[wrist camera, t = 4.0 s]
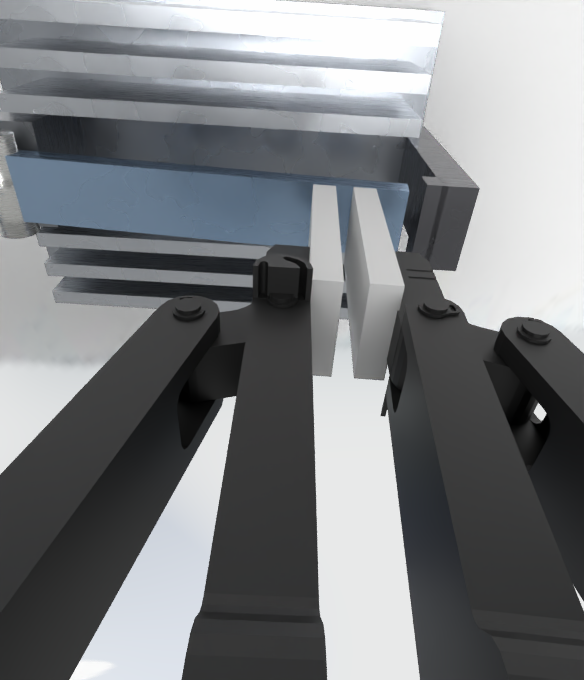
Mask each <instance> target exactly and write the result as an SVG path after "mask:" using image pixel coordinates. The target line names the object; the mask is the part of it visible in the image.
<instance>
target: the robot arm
mask: <svg viewBox="0 0 584 680" xmlns="http://www.w3.org/2000/svg"><path fill="white" fill-rule="evenodd" d="M344 269H345V281H346V292H347V304H348V315H349V326H350V338H351V349H352V361H353V372H354V378H358V379H372V380H384V378H385V373H386V369H387V364H388V368H389V374H390V376H389V381H388V385H387V390H386V394H385V398H384V403H383V407H382V412H381V416H385V415H386V411H387V410H388V415H389V423H390V431H391V440H392V447H393V457H394V465H395V473H396V482H397V490H398V498H399V507H400V515H401V523H402V531H403V540H404V548H405V557H406V564H407V573H408V582H409V590H410V599H411V607H412V614H413V624H414V632H415V640H416V649H417V657H418V665H419V673H420V680H584V611H583V608H582V606H581V603H580V601H579V598H578V596H577V594H576V591H575V588H576V590H577V591H578V593H579V594H580V596H581V598H582V599H583V601H584V354H583V353H582V352H581V351H580V350H579V349H578V348H577V347H576V346H575V345H574V344H573V343H571V341H570V340H569V339H568V338H566V337H565V336H564V335H563V334H562V333H561V332H560V331H558V330H557V329H556V328H554V327H553V326H551V325H549V324H547V323H544V322H543V321H541V320H538V319H534V318H529V317H527V318H525V317H514V318H509V319H507V320H506V321H504V322H503V323H502V325H501V328H500V331H499V332H497V331H493V330H489V329H485V328H481V327H478V326H475V325H471V324H469V323H468V322H467V319H466V317H465V314H464V312H463V311H462V309H461V308H460V307H459V306H458V305H456V304H455V303H453V302H452V301H449V300H447V299H444V296H443V294H442V291H441V289H440V287H439V284H438V282H437V280H436V277H435V275H434V273H433V270H432V267H431V265H430V262H429V261H428V260H427V259H425V258H424V257H423V256H422V255H421V254H419V253H412V252H398V251H394V247H393V244H392V241H391V237H390V234H389V230H388V227H387V223H386V220H385V217H384V213H383V210H382V206H381V203H380V200H379V196H378V193H377V189H375V188H361V187H353V195H352V202H351V210H350V218H349V225H348V233H347V241H346V249H345V256H344ZM343 286H344V276H343V264H342V252H341V240H340V228H339V216H338V204H337V192H336V186H331V185H317V184H313V193H312V206H311V218H310V231H309V244H308V247H307V246H293V245H278V244H275V245H274V246H273V247H272V248H271V249H269V250H268V251H267V253H266V256H263V257H261V258H260V259H258V260H256V261H255V263H254V264H253V299H252V303H251V304H250V305H248V306H246V307H243V308H241V309H237V310H232V311H225V312H220V311H219V308H218V305H217V304H216V303H215V302H214V301H212V300H211V299H208V298H205V297H202V296H193V295H186V296H179V297H176V298H173V299H170V300H168V301H166V302H165V303H164V304H162V305H161V306H160V307H159V308H158V309H157V310H156V311H155V312H154V313H153V314H152V315H151V316H150V317H149V318H148V319H147V321H146V322H145V323H144V324H143V325H142V326H141V327H140V328H139V329H138V330H137V331H136V332H135V333H134V334H133V335H132V336H131V337H130V338H129V340H128V341H127V342H126V343H125V344H124V345H123V346H122V347H121V348H120V349H119V350H118V351H117V352H116V353H115V354H114V355H113V356H112V357H111V359H110V360H109V361H108V362H107V363H106V364H105V365H104V366H103V367H102V368H101V369H100V370H99V371H98V372H97V373H96V374H95V375H94V376H93V378H92V379H91V380H90V381H89V382H88V383H87V384H86V385H85V386H84V387H83V388H82V389H81V390H80V391H79V392H78V393H77V394H76V395H75V396H74V398H73V399H72V400H71V401H70V402H69V403H68V404H67V405H66V406H65V407H64V408H63V409H62V410H61V411H60V413H58V415H57V416H56V417H55V418H54V419H53V420H52V421H51V422H50V423H49V424H48V425H47V426H46V427H45V428H44V429H43V430H42V431H41V432H40V433H39V434H38V436H37V437H36V438H35V439H34V440H33V441H32V442H31V443H30V444H29V445H28V446H27V447H26V448H25V449H24V450H23V451H22V452H21V454H19V456H18V457H17V458H16V459H15V460H14V461H13V462H12V463H11V464H10V465H9V466H8V467H7V468H6V469H5V470H4V471H3V472H2V473H1V475H0V680H69V679H70V677H71V676H72V674H73V672H74V670H75V668H76V667H77V665H78V663H79V661H80V659H81V658H82V656H83V654H84V652H85V650H86V649H87V647H88V645H89V643H90V641H91V640H92V638H93V636H94V634H95V632H96V631H97V629H98V627H99V625H100V623H101V621H102V620H103V618H104V616H105V614H106V613H107V611H108V609H109V607H110V606H111V604H112V602H113V600H114V598H115V596H116V595H117V593H118V591H119V589H120V588H121V586H122V584H123V582H124V580H125V578H126V577H127V575H128V573H129V571H130V570H131V568H132V566H133V564H134V562H135V561H136V558H137V557H138V555H139V553H140V552H141V550H142V548H143V546H144V544H145V543H146V541H147V539H148V537H149V535H150V534H151V532H152V530H153V528H154V526H155V525H156V523H157V521H158V519H159V517H160V516H161V514H162V512H163V510H164V509H165V507H166V505H167V503H168V501H169V499H170V498H171V496H172V494H173V492H174V491H175V489H176V487H177V485H178V483H179V482H180V480H181V478H182V476H183V474H184V472H185V471H186V469H187V467H188V465H189V463H190V462H191V460H192V458H193V456H194V455H195V453H196V451H197V449H198V447H199V446H200V444H201V442H202V440H203V438H204V437H205V435H206V433H207V431H208V429H209V428H210V426H211V424H212V422H213V420H214V419H215V417H216V415H217V413H218V411H219V409H220V408H221V406H222V402H223V398H226V397H232V396H236V403H235V409H234V415H233V421H232V427H231V434H230V439H229V445H228V451H227V457H226V464H225V470H224V476H223V482H222V488H221V494H220V500H219V506H218V512H217V518H216V525H215V531H214V536H213V543H212V549H211V555H210V561H209V567H208V573H207V579H206V585H205V591H204V597H203V602H202V606H201V610H200V612H199V613H198V615H197V616H196V617H195V620H194V623H193V626H192V629H191V633H190V638H189V643H188V648H187V652H186V658H185V663H184V669H183V675H182V680H327V667H326V646H325V635H324V626H323V622H322V620H321V618H320V611H319V590H318V556H317V555H318V554H317V518H316V487H315V486H316V483H315V449H314V414H313V379H312V378H313V376H312V375H316V376H329V377H331V374H332V368H333V360H334V353H335V345H336V338H337V330H338V323H339V315H340V308H341V300H342V293H343ZM538 403H539V404H540V405H541V406H542V407H543V409H544V410H545V411H546V413H547V414H546V416H545V418H544V420H543V421H540V420H539V419H538V418H537V417H536V415H535V414H534V413H533V412H534V410H535V408H536V406H537V404H538ZM573 585H574V586H573ZM574 587H575V588H574Z"/></svg>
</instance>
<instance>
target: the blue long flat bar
mask: <svg viewBox="0 0 584 680" xmlns="http://www.w3.org/2000/svg"><path fill="white" fill-rule="evenodd" d="M313 184H317V185H331V186H336V192H337V204H338V216H339V228H340V240H341V252H342V253H345V249H346V241H347V233H348V225H349V218H350V210H351V202H352V195H353V187H361V188H375V189H377V193H378V196H379V200H380V203H381V206H382V210H383V213H384V217H385V220H386V223H387V227H388V230H389V234H390V237H391V241H392V244H393V247H394V251H398V246H399V241H400V236H401V231H402V226H403V221H404V216H405V211H406V206H407V201H408V196H409V188H408V185H407V184H404V183H392V182H381V181H369V180H358V179H347V178H335V177H324V176H312V175H301V174H290V173H278V172H267V171H255V170H244V169H232V168H221V167H210V166H198V165H187V164H175V163H164V162H152V161H141V160H130V159H118V158H107V157H95V156H84V155H73V154H61V153H50V152H38V151H27V150H18V148H17V144H16V140H15V137H14V133H13V131H11V130H8V129H0V235H1V236H2V237H5V238H11V239H17V238H25V237H29V236H32V235H35V234H36V233H38V232H39V231H40V227H39V223H43V224H53V225H63V226H74V227H84V228H94V229H105V230H115V231H125V232H136V233H146V234H156V235H167V236H177V237H187V238H198V239H208V240H218V241H229V242H239V243H249V244H260V245H270V246H274V245H275V244H278V245H293V246H307V247H308V244H309V231H310V218H311V206H312V193H313Z"/></svg>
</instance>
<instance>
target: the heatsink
mask: <svg viewBox="0 0 584 680" xmlns="http://www.w3.org/2000/svg"><path fill="white" fill-rule="evenodd" d="M444 15H445V12H443V11H434V10H419V9H404V8H389V7H373V6H358V5H343V4H327V3H312V2H297V1H281V0H0V81H1V84H2V88H3V91H1V92H0V129H8V130H11V131H13V133H14V137H15V140H16V144H17V148H18V150H27V151H38V152H50V153H61V154H73V155H84V156H95V157H107V158H118V159H130V160H141V161H152V162H164V163H175V164H187V165H198V166H210V167H221V168H232V169H244V170H255V171H267V172H278V173H290V174H301V175H312V176H324V177H335V178H347V179H358V180H369V181H381V182H392V183H404V184H407V185H408V188H409V196H408V201H407V206H406V211H405V216H404V221H403V224H404V226H405V229H406V231H407V234H408V236H409V238H408V243H407V248H406V252H412V253H419V254H421V255H422V256H423V257H424V258H425V259H427V260H428V261H429V262H430V265H431V267H432V270H449V271H456V268H457V264H458V261H459V257H460V254H461V250H462V247H463V244H464V240H465V237H466V233H467V230H468V226H469V223H470V219H471V216H472V212H473V209H474V206H475V202H476V199H477V195H478V192H479V187H478V186H477V185H476V184H475V183H474V181H473V180H472V179H471V178H470V177H469V176H468V175H467V174H466V173H465V171H464V170H463V169H462V168H461V167H460V166H459V165H458V164H457V163H456V161H455V160H454V159H453V158H452V157H451V156H450V155H449V154H448V152H447V151H446V150H445V149H444V148H443V147H442V146H441V145H440V144H439V142H438V141H437V140H436V139H435V138H434V137H433V136H432V135H431V134H430V132H429V131H428V130H427V129H426V128H425V127H422V125H423V120H424V115H425V110H426V105H427V100H428V95H429V90H430V85H431V80H432V75H433V70H434V65H435V60H436V55H437V50H438V45H439V40H440V35H441V30H442V25H443V20H444ZM39 226H41V229H40V231H39V232H38V233H36V236H37V239H38V243H39V246H46V247H47V251H48V254H49V259H48V260H47V261H46V262H45V263H44V264H45V267H46V271H47V274H48V275H49V276H65V277H64V278H63V279H62V281H61V282H60V283H59V284H58V285H57V286H56V288H55V289H54V290H53V295H54V298H55V302H56V303H72V304H90V305H107V306H124V307H141V308H159V307H160V306H161V305H162V304H164V303H165V302H166V301H168V300H170V299H173V298H176V297H179V296H186V295H193V296H202V297H205V298H208V299H211V300H212V301H214V302H215V303H216V304H217V305H218V308H219V311H220V312H225V311H232V310H237V309H241V308H243V307H246V306H248V305H250V304H251V303H252V299H253V264H254V263H255V261H256V260H258V259H260V258H261V257H263V256H266V253H267V251H268V250H269V249H271V248H272V247H273V246H270V245H260V244H249V243H239V242H229V241H218V240H208V239H198V238H187V237H177V236H167V235H156V234H146V233H136V232H125V231H115V230H105V229H94V228H84V227H74V226H63V225H53V224H43V223H39ZM344 256H345V253H342V264H343V276H344V286H343V293H342V300H341V308H340V315H339V319H348V320H349V315H348V304H347V292H346V281H345V269H344Z"/></svg>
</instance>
